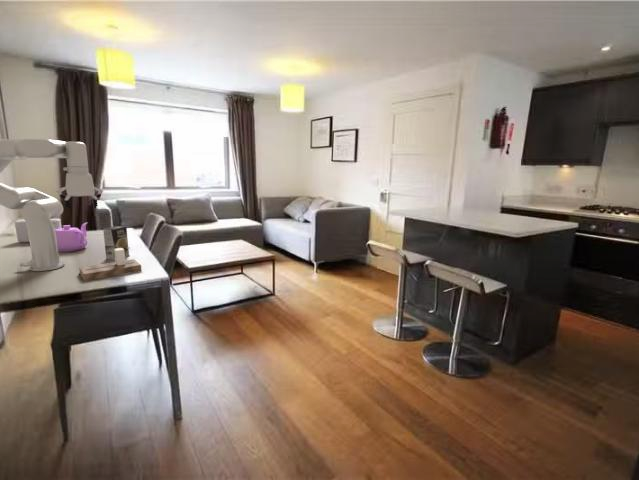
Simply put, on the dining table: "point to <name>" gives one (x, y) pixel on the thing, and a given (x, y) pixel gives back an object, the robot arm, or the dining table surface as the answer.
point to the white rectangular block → (119, 256)
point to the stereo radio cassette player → (23, 232)
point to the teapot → (71, 238)
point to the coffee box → (115, 240)
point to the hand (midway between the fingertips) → (82, 208)
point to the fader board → (109, 270)
